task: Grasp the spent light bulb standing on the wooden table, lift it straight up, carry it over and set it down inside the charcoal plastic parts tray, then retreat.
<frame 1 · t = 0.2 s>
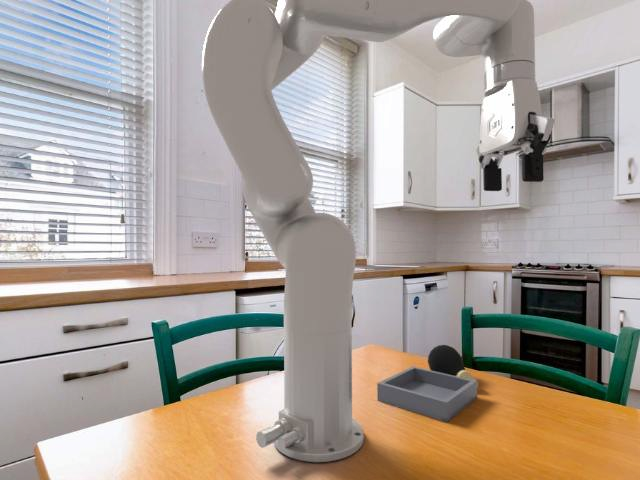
hand: (511, 186, 62), 37 cm above the table, tool pointing down, fingers open, 9 cm apart
parts tray: (427, 399, 67), on the table
light bulb: (451, 383, 76), on the table
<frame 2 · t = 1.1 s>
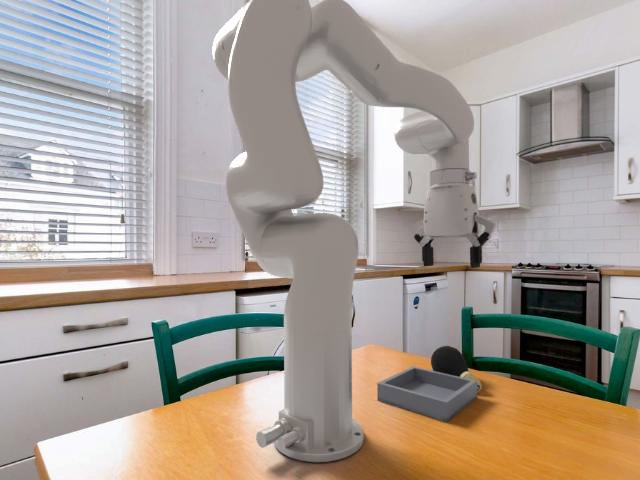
hand: (450, 266, 76), 23 cm above the table, tool pointing down, fingers open, 9 cm apart
nothing on the table moved.
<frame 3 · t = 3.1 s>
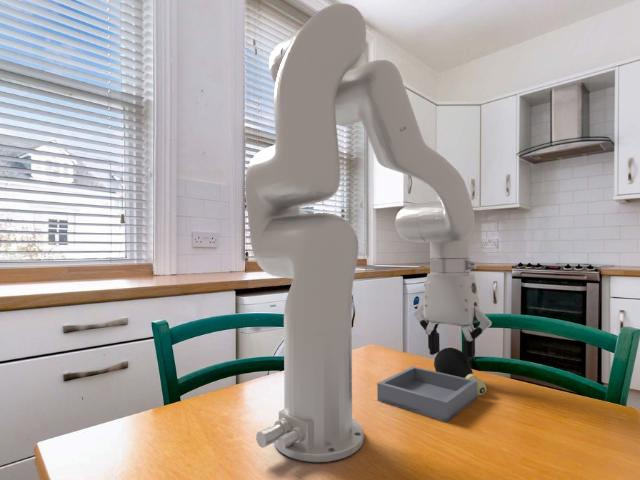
hand: (451, 355, 77), 5 cm above the table, tool pointing down, fingers open, 6 cm apart
light bulb: (458, 387, 74), on the table, touching gripper
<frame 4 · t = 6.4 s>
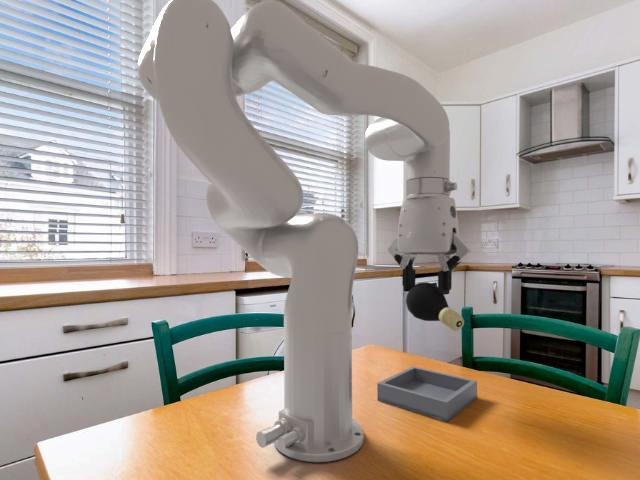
hand: (426, 291, 68), 19 cm above the table, tool pointing down, fingers closed on light bulb, 5 cm apart
light bulb: (432, 324, 66), point 13 cm above the table, touching gripper
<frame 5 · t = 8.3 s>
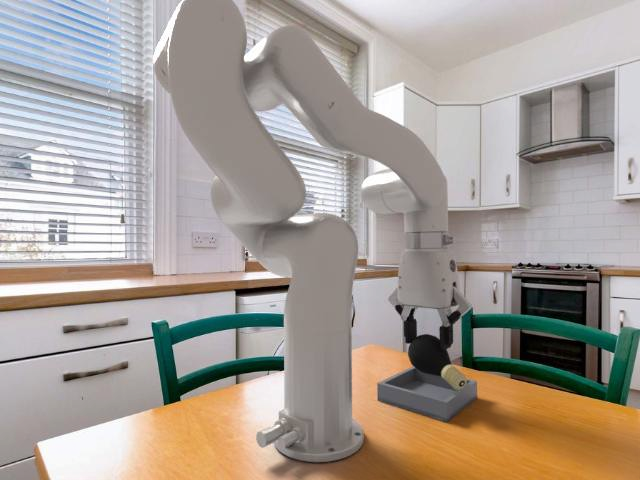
hand: (427, 344, 68), 10 cm above the table, tool pointing down, fingers closed on light bulb, 5 cm apart
light bulb: (435, 378, 65), point 4 cm above the table, touching gripper
when the fingers open (8 cm above the table, at t = 9.5 s): light bulb moves 1 cm, resting on parts tray.
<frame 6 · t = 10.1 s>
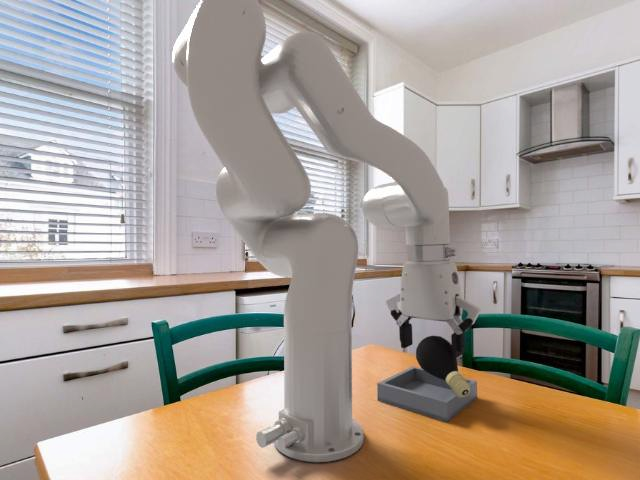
hand: (431, 350, 68), 8 cm above the table, tool pointing down, fingers open, 9 cm apart
light bulb: (437, 381, 65), point 4 cm above the table, touching gripper, parts tray
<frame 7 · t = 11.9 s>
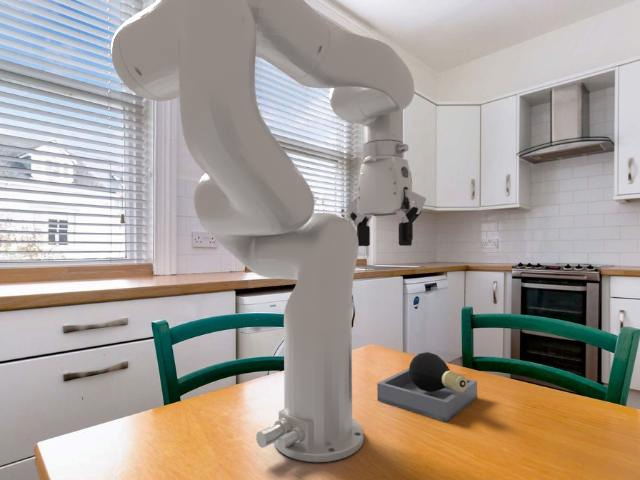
hand: (383, 245, 72), 27 cm above the table, tool pointing down, fingers open, 9 cm apart
light bulb: (440, 393, 65), point 2 cm above the table, touching parts tray
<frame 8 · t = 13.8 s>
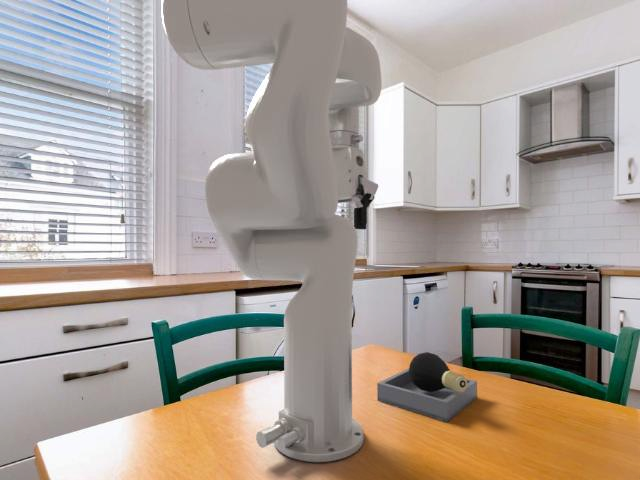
hand: (340, 230, 77), 30 cm above the table, tool pointing down, fingers open, 9 cm apart
nothing on the table moved.
at the end: light bulb inside the target area on the parts tray (2.9 cm from its centre), point 2.0 cm above the parts tray's base; the gripper is holding nothing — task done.
